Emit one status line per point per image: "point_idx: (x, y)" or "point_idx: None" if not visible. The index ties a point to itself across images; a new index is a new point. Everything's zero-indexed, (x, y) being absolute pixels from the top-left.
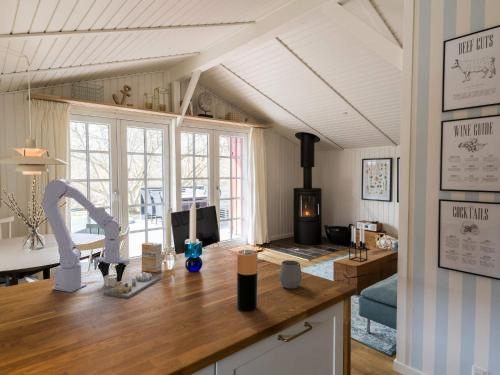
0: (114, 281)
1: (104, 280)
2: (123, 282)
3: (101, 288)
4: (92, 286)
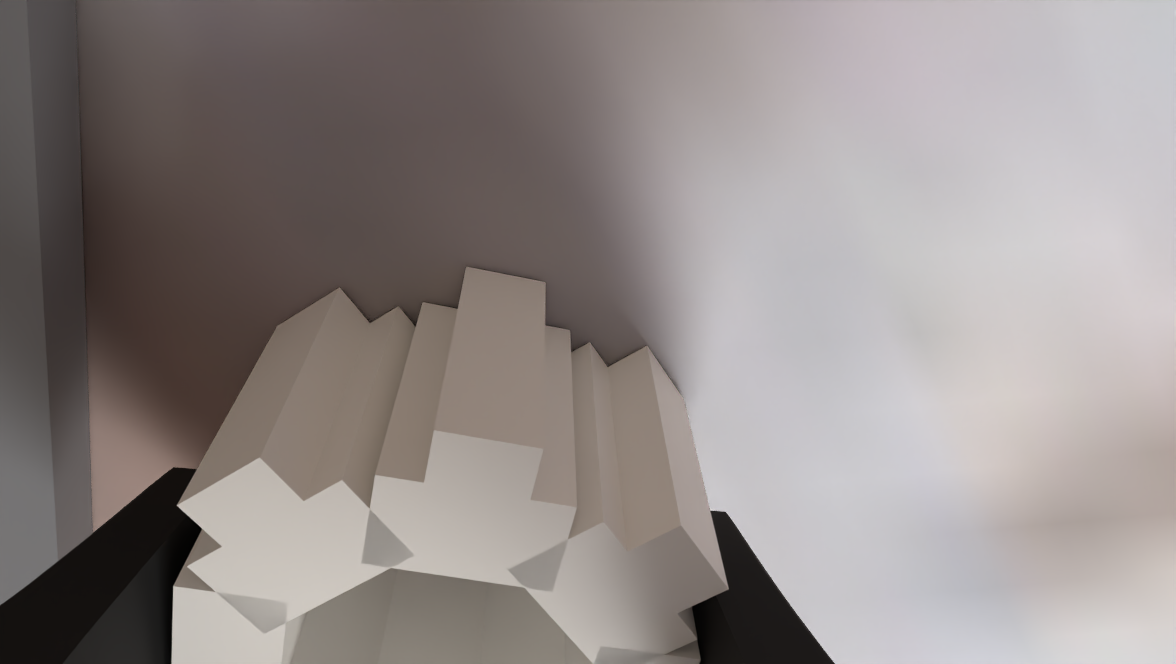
0: (237, 402)
1: (655, 439)
2: (37, 477)
3: (601, 83)
4: (985, 227)
